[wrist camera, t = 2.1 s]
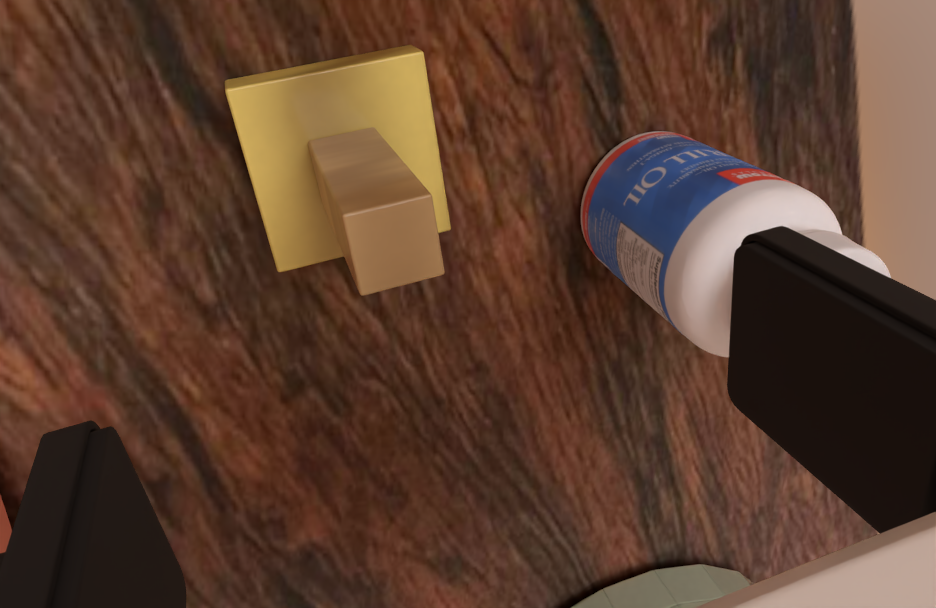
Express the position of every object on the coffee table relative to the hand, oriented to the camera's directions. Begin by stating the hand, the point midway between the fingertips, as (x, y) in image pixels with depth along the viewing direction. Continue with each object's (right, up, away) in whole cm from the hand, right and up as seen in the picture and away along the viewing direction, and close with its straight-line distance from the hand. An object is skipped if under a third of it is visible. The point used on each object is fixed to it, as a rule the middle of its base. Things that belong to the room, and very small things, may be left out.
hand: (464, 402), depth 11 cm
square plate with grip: (-4, +6, +12) cm, 14 cm away
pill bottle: (+6, +5, +16) cm, 18 cm away
